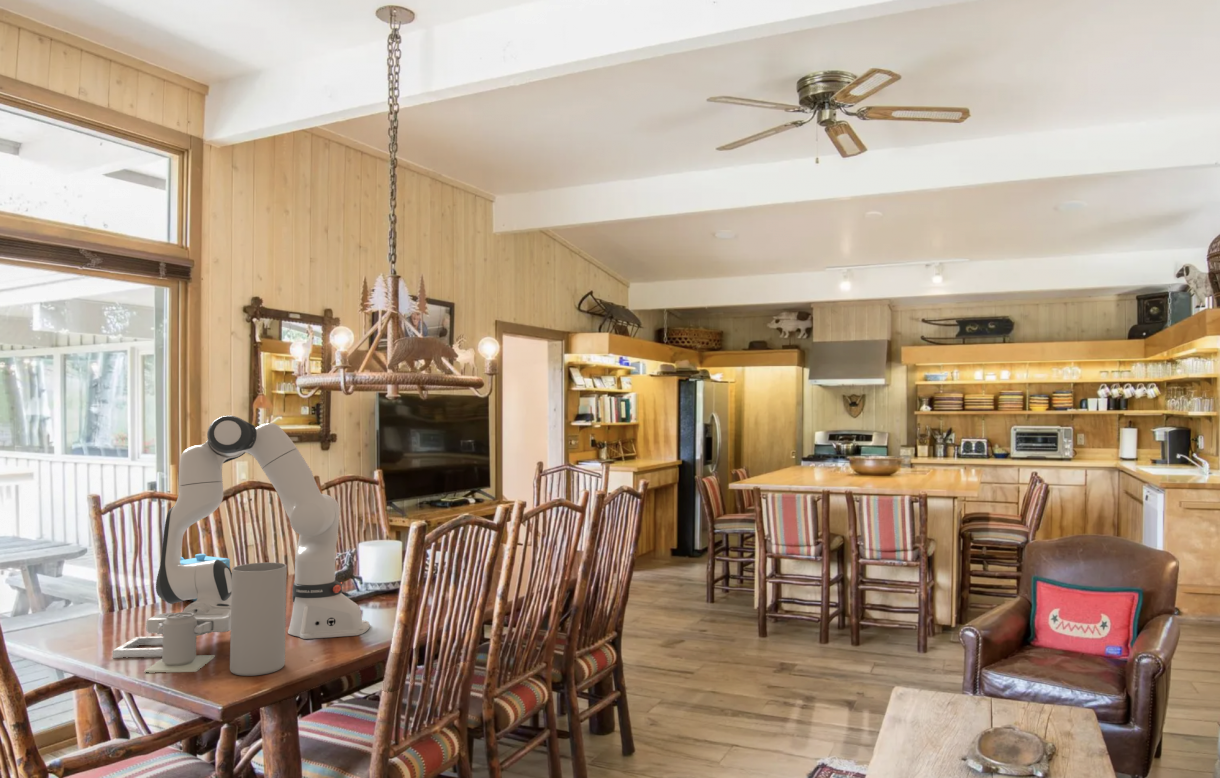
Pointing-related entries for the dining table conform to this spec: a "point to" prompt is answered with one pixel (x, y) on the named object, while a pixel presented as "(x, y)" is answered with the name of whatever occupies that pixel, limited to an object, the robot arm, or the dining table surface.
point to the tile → (190, 667)
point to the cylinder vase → (258, 618)
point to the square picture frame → (132, 651)
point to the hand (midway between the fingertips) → (178, 630)
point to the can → (179, 639)
